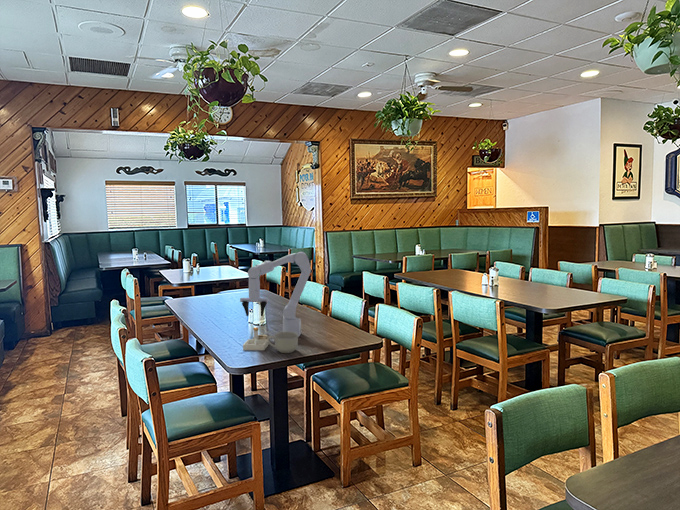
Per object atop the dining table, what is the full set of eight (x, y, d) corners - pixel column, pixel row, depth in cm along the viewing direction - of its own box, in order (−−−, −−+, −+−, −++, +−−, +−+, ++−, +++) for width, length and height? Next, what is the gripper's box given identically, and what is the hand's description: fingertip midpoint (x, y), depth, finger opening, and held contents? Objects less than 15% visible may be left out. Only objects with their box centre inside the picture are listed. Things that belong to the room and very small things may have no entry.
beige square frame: (267, 340, 232) (267, 335, 232) (265, 344, 226) (264, 338, 226) (255, 340, 233) (255, 334, 233) (252, 344, 227) (252, 337, 227)
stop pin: (259, 345, 223) (258, 327, 222) (258, 346, 220) (258, 328, 220) (253, 345, 222) (253, 327, 222) (253, 347, 220) (253, 328, 219)
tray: (268, 344, 226) (268, 339, 226) (264, 350, 216) (264, 345, 216) (248, 344, 226) (248, 339, 226) (243, 350, 216) (242, 344, 216)
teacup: (299, 348, 220) (298, 331, 219) (297, 354, 209) (297, 337, 209) (269, 348, 219) (269, 331, 219) (266, 355, 209) (266, 337, 208)
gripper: (269, 288, 245) (270, 314, 246) (242, 288, 246) (243, 314, 247) (266, 290, 238) (267, 317, 239) (238, 290, 239) (239, 316, 240)
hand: (254, 315), depth 243 cm, fingers open, 7 cm apart
